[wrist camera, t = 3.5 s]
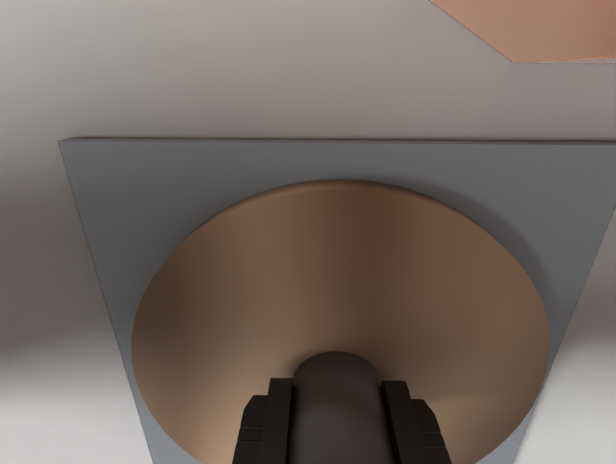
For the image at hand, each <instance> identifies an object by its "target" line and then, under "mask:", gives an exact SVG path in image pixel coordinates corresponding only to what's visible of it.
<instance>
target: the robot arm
mask: <svg viewBox="0 0 616 464" xmlns="http://www.w3.org/2000/svg"><path fill="white" fill-rule="evenodd" d="M292 392H293V378H272V377H271V378H270V383H269V389H268V395H253V396H252V398H251V399H250V401H249V402H248V404H247V405H246V407H245V408H244V411H243V415H242V420H241V424H240V429H239V434H238V438H237V443H236V447H235V452H234V456H233V461H232V464H287V456H288V443H289V430H290V418H291V405H292ZM381 392H382V397H383V402H384V407H385V412H386V417H387V422H388V427H389V432H390V437H391V442H392V447H393V452H394V457H395V462H396V464H452V462H451V459H450V456H449V453H448V451H447V449H446V445H445V442H444V439H443V436H442V435H441V430H440V427H439V424H438V422H437V419H436V416H435V413H434V412H433V411H432V410H431V408H430V407H429V406H428V405H427V403H426V402H425V401H424V399H411V397H410V393H409V390H408V386H407V383H406V382H405V381H398V380H382V382H381Z"/></svg>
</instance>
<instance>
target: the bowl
mask: <svg viewBox="0 0 616 464" xmlns="http://www.w3.org/2000/svg"><path fill="white" fill-rule="evenodd" d="M429 1H431V2H432V3H433V4H435V5H436V6H438V7H439V8H440V9H442V10H443V11H444V12H446V13H447V14H448V15H450V16H451V17H452V18H454V19H455V20H456V21H458V22H459V23H460V24H462V25H463V26H464V27H466V28H467V29H468V30H470V31H471V32H472V33H474V34H475V35H476V36H478V37H479V38H481V39H482V40H483V41H485V42H486V43H487V44H489V45H490V46H491V47H493V48H494V49H495V50H497V51H498V52H499V53H501V54H502V55H503V56H505V57H506V58H507V59H509V60H510V61H511V62H516V63H616V0H429Z"/></svg>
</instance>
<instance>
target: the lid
mask: <svg viewBox="0 0 616 464" xmlns="http://www.w3.org/2000/svg"><path fill="white" fill-rule="evenodd" d="M549 351H550V339H549V325H548V321H547V317H546V314H545V310H544V306H543V303H542V301H541V298H540V296H539V294H538V292H537V290H536V288H535V286H534V284H533V282H532V280H531V279H530V278H529V276H528V275H527V273H526V272H525V271H524V269H523V268H522V267H521V265H520V264H519V262H518V261H517V260H516V259H515V258H514V257H513V256H512V255H511V254H510V253H509V252H508V251H507V250H506V249H505V248H504V247H503V246H502V245H501V244H500V243H499V242H498V241H497V240H495V239H494V238H493V237H492V236H491V235H490V234H489V233H488V232H487V231H486V230H485V229H484V228H483V227H482V226H480V225H479V224H478V223H476V222H475V221H473V220H472V219H470V218H469V217H468V216H466V215H465V214H463V213H462V212H460V211H459V210H457V209H455V208H453V207H451V206H449V205H447V204H445V203H443V202H441V201H439V200H437V199H435V198H433V197H431V196H428V195H425V194H422V193H419V192H416V191H413V190H410V189H407V188H404V187H400V186H395V185H390V184H384V183H379V182H374V181H362V180H346V179H335V180H319V181H307V182H302V183H296V184H291V185H286V186H281V187H277V188H274V189H271V190H267V191H264V192H261V193H258V194H255V195H252V196H249V197H247V198H245V199H243V200H241V201H239V202H237V203H235V204H233V205H231V206H229V207H227V208H225V209H223V210H221V211H220V212H218V213H217V214H215V215H214V216H212V217H211V218H209V219H208V220H206V221H205V222H203V223H202V224H200V225H199V226H198V227H197V228H196V229H195V230H194V231H193V232H192V233H191V234H189V235H188V236H187V237H186V238H185V239H184V240H183V241H182V242H181V243H180V244H179V245H178V247H177V248H176V249H175V250H174V252H173V253H172V254H171V255H170V257H169V258H168V259H167V260H166V262H165V263H164V264H163V265H162V267H161V268H160V269H159V270H158V272H157V273H156V274H155V275H154V277H153V278H152V280H151V282H150V283H149V285H148V287H147V289H146V291H145V293H144V294H143V296H142V298H141V301H140V303H139V306H138V309H137V312H136V315H135V318H134V323H133V330H132V337H131V358H132V366H133V370H134V375H135V380H136V383H137V385H138V388H139V391H140V393H141V396H142V398H143V400H144V402H145V404H146V406H147V407H148V409H149V411H150V412H151V414H152V416H153V417H154V419H155V420H156V421H157V422H158V424H159V425H160V426H161V428H162V429H163V430H164V432H165V433H166V434H167V435H168V436H169V437H170V438H171V439H172V440H173V441H174V442H175V443H176V444H177V445H178V446H180V447H181V448H182V449H183V450H185V451H186V452H187V453H188V454H190V455H191V456H192V457H193V458H195V459H196V460H198V461H199V462H201V463H203V464H232V461H233V456H234V452H235V447H236V443H237V438H238V434H239V429H240V424H241V420H242V415H243V411H244V408H245V407H246V405H247V404H248V402H249V401H250V399H251V398H252V396H253V395H268V389H269V383H270V378H271V377H272V378H293V392H292V405H291V418H290V430H289V443H288V456H287V464H396V462H395V457H394V452H393V447H392V442H391V437H390V432H389V427H388V422H387V417H386V412H385V407H384V402H383V397H382V392H381V382H382V380H398V381H405V382H406V383H407V386H408V390H409V393H410V397H411V399H424V401H425V402H426V403H427V405H428V406H429V407H430V408H431V410H432V411H433V412H434V413H435V416H436V419H437V422H438V424H439V427H440V430H441V435H442V436H443V439H444V442H445V445H446V449H447V451H448V453H449V456H450V459H451V462H452V464H475V463H477V462H478V461H480V460H481V459H482V458H484V457H485V456H487V455H488V454H490V453H491V452H492V451H493V450H495V449H496V448H497V447H498V446H499V445H500V444H501V443H503V442H504V441H505V440H506V439H507V438H508V437H509V436H510V435H511V434H512V433H513V432H514V430H515V429H516V428H517V427H518V426H519V425H520V424H521V422H522V421H523V420H524V418H525V417H526V415H527V414H528V412H529V411H530V409H531V408H532V406H533V404H534V402H535V400H536V398H537V396H538V394H539V392H540V390H541V388H542V385H543V381H544V378H545V375H546V371H547V368H548V360H549Z"/></svg>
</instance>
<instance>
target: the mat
mask: <svg viewBox="0 0 616 464" xmlns="http://www.w3.org/2000/svg"><path fill="white" fill-rule="evenodd" d="M58 144H59V148H60V151H61V154H62V158H63V161H64V164H65V168H66V171H67V175H68V178H69V181H70V185H71V188H72V191H73V195H74V198H75V202H76V205H77V208H78V212H79V215H80V218H81V222H82V225H83V229H84V232H85V235H86V239H87V242H88V245H89V249H90V252H91V255H92V259H93V262H94V266H95V269H96V272H97V276H98V279H99V282H100V286H101V289H102V293H103V296H104V299H105V303H106V306H107V309H108V313H109V316H110V320H111V323H112V326H113V330H114V333H115V336H116V340H117V343H118V347H119V350H120V353H121V357H122V360H123V363H124V367H125V370H126V374H127V377H128V380H129V384H130V387H131V390H132V394H133V397H134V401H135V404H136V407H137V411H138V414H139V417H140V421H141V424H142V427H143V431H144V434H145V438H146V441H147V444H148V448H149V451H150V454H151V458H152V461H153V464H203V463H201V462H199V461H198V460H196V459H195V458H193V457H192V456H191V455H190V454H188V453H187V452H186V451H185V450H183V449H182V448H181V447H180V446H178V445H177V444H176V443H175V442H174V441H173V440H172V439H171V438H170V437H169V436H168V435H167V434H166V433H165V432H164V430H163V429H162V428H161V426H160V425H159V424H158V422H157V421H156V420H155V419H154V417H153V416H152V414H151V412H150V411H149V409H148V407H147V406H146V404H145V402H144V400H143V398H142V396H141V393H140V391H139V388H138V385H137V383H136V380H135V375H134V370H133V366H132V358H131V337H132V330H133V323H134V318H135V315H136V312H137V309H138V306H139V303H140V301H141V298H142V296H143V294H144V293H145V291H146V289H147V287H148V285H149V283H150V282H151V280H152V278H153V277H154V275H155V274H156V273H157V272H158V270H159V269H160V268H161V267H162V265H163V264H164V263H165V262H166V260H167V259H168V258H169V257H170V255H171V254H172V253H173V252H174V250H175V249H176V248H177V247H178V245H179V244H180V243H181V242H182V241H183V240H184V239H185V238H186V237H187V236H188V235H189V234H191V233H192V232H193V231H194V230H195V229H196V228H197V227H198V226H199V225H200V224H202V223H203V222H205V221H206V220H208V219H209V218H211V217H212V216H214V215H215V214H217V213H218V212H220V211H221V210H223V209H225V208H227V207H229V206H231V205H233V204H235V203H237V202H239V201H241V200H243V199H245V198H247V197H249V196H252V195H255V194H258V193H261V192H264V191H267V190H271V189H274V188H277V187H281V186H286V185H291V184H296V183H302V182H307V181H319V180H335V179H346V180H362V181H374V182H379V183H384V184H390V185H395V186H400V187H404V188H407V189H410V190H413V191H416V192H419V193H422V194H425V195H428V196H431V197H433V198H435V199H437V200H439V201H441V202H443V203H445V204H447V205H449V206H451V207H453V208H455V209H457V210H459V211H460V212H462V213H463V214H465V215H466V216H468V217H469V218H470V219H472V220H473V221H475V222H476V223H478V224H479V225H480V226H482V227H483V228H484V229H485V230H486V231H487V232H488V233H489V234H490V235H491V236H492V237H493V238H494V239H495V240H497V241H498V242H499V243H500V244H501V245H502V246H503V247H504V248H505V249H506V250H507V251H508V252H509V253H510V254H511V255H512V256H513V257H514V258H515V259H516V260H517V261H518V262H519V264H520V265H521V267H522V268H523V269H524V271H525V272H526V273H527V275H528V276H529V278H530V279H531V280H532V282H533V284H534V286H535V288H536V290H537V292H538V294H539V296H540V298H541V301H542V303H543V306H544V310H545V314H546V317H547V321H548V325H549V339H550V351H549V360H548V368H547V371H546V375H545V378H544V381H543V385H542V388H541V390H540V392H539V394H538V396H537V398H536V400H535V402H534V404H533V406H532V408H531V409H530V411H529V412H528V414H527V415H526V417H525V418H524V420H523V421H522V422H521V424H520V425H519V426H518V427H517V428H516V429H515V430H514V432H513V433H512V434H511V435H510V436H509V437H508V438H507V439H506V440H505V441H504V442H503V443H501V444H500V445H499V446H498V447H497V448H496V449H495V450H493V451H492V452H491V453H490V454H488V455H487V456H485V457H484V458H482V459H481V460H480V461H478V462H477V463H475V464H512V463H513V461H514V458H515V456H516V453H517V451H518V448H519V446H520V443H521V441H522V438H523V436H524V433H525V431H526V428H527V426H528V423H529V421H530V418H531V416H532V414H533V411H534V409H535V406H536V404H537V401H538V399H539V396H540V394H541V391H542V389H543V386H544V384H545V381H546V379H547V376H548V374H549V371H550V369H551V366H552V364H553V361H554V359H555V356H556V354H557V351H558V349H559V346H560V344H561V341H562V339H563V336H564V334H565V331H566V329H567V326H568V324H569V321H570V319H571V316H572V314H573V311H574V309H575V306H576V304H577V301H578V299H579V296H580V294H581V291H582V289H583V286H584V284H585V281H586V279H587V276H588V274H589V271H590V269H591V266H592V264H593V261H594V259H595V256H596V254H597V251H598V249H599V246H600V244H601V241H602V239H603V236H604V234H605V231H606V229H607V226H608V224H609V221H610V219H611V216H612V214H613V211H614V209H615V206H616V142H547V141H400V140H253V139H106V138H68V139H64V140H61V141H58Z"/></svg>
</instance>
